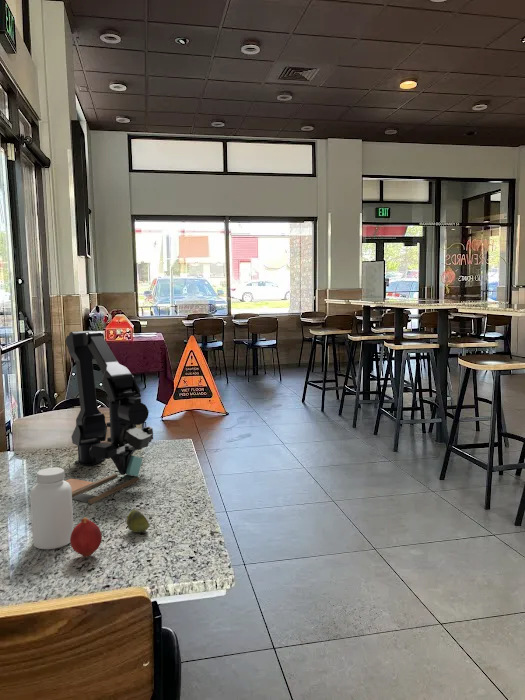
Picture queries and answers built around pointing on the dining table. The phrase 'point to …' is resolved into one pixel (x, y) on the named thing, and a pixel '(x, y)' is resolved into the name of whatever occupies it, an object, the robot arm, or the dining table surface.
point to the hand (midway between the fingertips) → (123, 474)
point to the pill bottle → (51, 509)
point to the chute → (87, 498)
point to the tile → (77, 484)
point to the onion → (86, 537)
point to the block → (134, 466)
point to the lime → (137, 521)
